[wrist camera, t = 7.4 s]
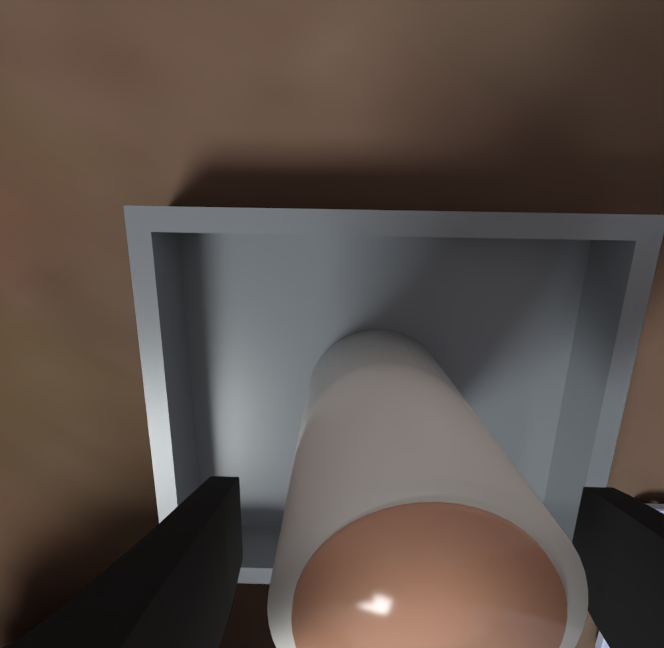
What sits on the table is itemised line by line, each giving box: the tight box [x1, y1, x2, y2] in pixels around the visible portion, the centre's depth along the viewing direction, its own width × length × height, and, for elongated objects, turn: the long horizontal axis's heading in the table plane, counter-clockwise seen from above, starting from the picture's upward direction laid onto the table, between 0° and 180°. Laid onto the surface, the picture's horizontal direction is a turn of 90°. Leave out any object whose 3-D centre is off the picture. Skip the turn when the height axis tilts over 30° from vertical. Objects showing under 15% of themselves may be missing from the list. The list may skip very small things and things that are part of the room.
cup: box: [267, 330, 588, 648], centre depth 10 cm, size 5×5×8 cm
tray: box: [124, 206, 664, 584], centre depth 13 cm, size 15×13×2 cm
